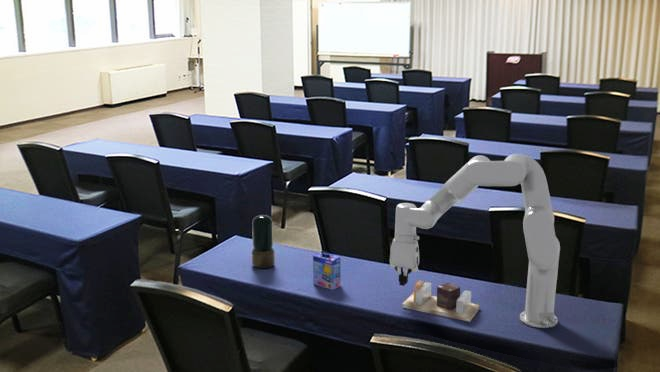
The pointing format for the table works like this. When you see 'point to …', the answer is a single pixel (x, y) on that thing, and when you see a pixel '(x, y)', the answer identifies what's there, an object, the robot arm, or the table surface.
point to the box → (447, 295)
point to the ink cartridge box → (326, 270)
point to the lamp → (262, 242)
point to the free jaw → (422, 292)
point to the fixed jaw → (463, 302)
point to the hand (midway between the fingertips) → (403, 284)
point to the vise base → (440, 308)
